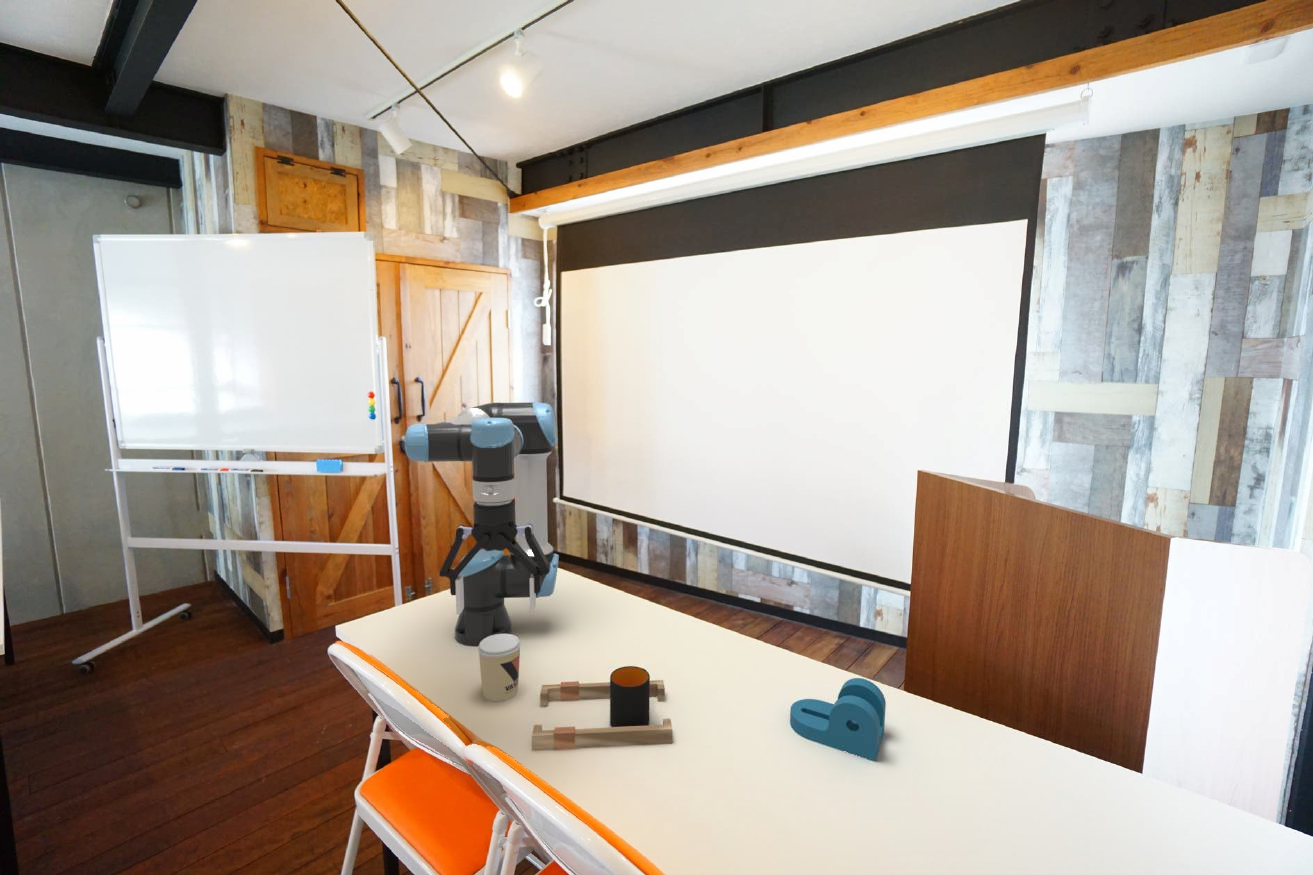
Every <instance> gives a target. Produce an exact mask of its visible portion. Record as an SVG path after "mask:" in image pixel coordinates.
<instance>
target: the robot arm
mask: <svg viewBox="0 0 1313 875" xmlns="http://www.w3.org/2000/svg"><path fill="white" fill-rule="evenodd" d="M557 429H558V428H557V423H556V417H555V413H554V410H553V407H552V406H551V405H550V404H549V403H547V402H546V403H544V402H535V401H534V402H490V403H483V404H481V405H477V406H474V407H470V408H467V409H465V410H462V411H461V412H460V413H458V415H457V416H455V417H453V418H449V419H446V420H444V421H441V422H437V423H430V424H429V423H424V422H423V423H421V424H419V423H418V424H410V426H408V428H407V430H406V432H405V435H404V451H405V454H406V456H407V458H408V459H409V460H410V461H411V462H420V463H421V462H422V463H423V462H424V463H428V462H429V463H430V462H436V463H437V462H471V466H472V471H471V472H472V500H473V501H474V503H473V505H472V506H473V507H472V508H473V509H472V510H473V511H472V512H473V527H469V526H468V527H467V526H465V525H464V524H461V525H460V526H459V527H457V529H456V531H455V538H454V539H455V540H454V542H453V544H452V546H451V548H450V550H449V552H448V554H447V556H446V558H445V560H444V562H443V564H442V566H441V567H440V570H439V572H438V574H439V576H440V577H441V578H443V577H445V578H448V579H449V590H450V591H449V593H450V594H451V596H455V601H456V602H455V603H456V604H455V608H456V614H457V615H458V618H457V621H456V622H455V623H456V624H455V627H454V638H455V640H456V641H457V642H458V643H460V644H462V645H467V646H472V647H473V646H479V644H480V642H481V641H482V640H483V639H485V638H487V637H489V636H492V635H496V634H511V633H512V621H511V618H510V615H509V613H508V610H507V607H506V604H505V599H514V598H515V599H516V598H518V599H519V598H525V599H526V598H529V612H532V613H533V612H535V609H536V607H537V600H536V599H538V598H545V597H550V596H551V595H553V594H554V592H555V587H556V582H557V576H558V575H557V574H558V568H559V557H560V555H559V554H557V553H554V546H553V545H551V544H550V542H548V540H549V538H548V486H547V485H548V480H547V478H548V477H547V475H548V474H547V471H548V470H547V459H548V457H549V456H550V455H551V454H553V447H555V446H557V445H558V432H557ZM469 535H471V537H472V538H473V539H475V541H476V543H475V544H474V545H473V546H472V547H471V549H470V550H469V552H467V554H466V555H465V556H463V557H462V558H461V560H460V561H459V563H457V565H456V566H455V567H454V568H451V567H452V565H453V563H454V561H455V560H456V556H457V555H458V552H459V550H460V549H461V546H462V545H463V543H464V541H465V540H466V539H468V538H469ZM504 550H508V552H509V553H510V554H505V552H504Z"/></svg>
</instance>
